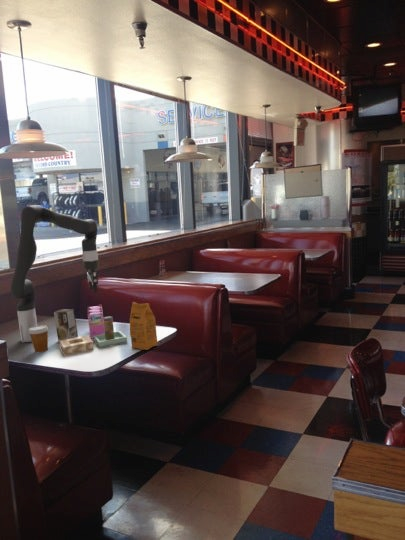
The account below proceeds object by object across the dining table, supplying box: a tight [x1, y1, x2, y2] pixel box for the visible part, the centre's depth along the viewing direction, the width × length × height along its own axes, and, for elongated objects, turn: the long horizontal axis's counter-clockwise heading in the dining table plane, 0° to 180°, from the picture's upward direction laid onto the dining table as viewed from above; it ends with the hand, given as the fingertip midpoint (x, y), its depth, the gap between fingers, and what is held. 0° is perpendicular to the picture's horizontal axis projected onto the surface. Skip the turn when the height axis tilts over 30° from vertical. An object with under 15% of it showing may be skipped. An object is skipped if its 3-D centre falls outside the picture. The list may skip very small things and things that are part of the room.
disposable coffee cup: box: [29, 324, 49, 353], centre depth 250 cm, size 10×10×12 cm
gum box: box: [87, 304, 105, 340], centre depth 274 cm, size 24×8×14 cm, turn 12°
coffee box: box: [53, 308, 79, 342], centre depth 265 cm, size 9×6×16 cm
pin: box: [103, 316, 115, 341], centre depth 254 cm, size 5×5×12 cm
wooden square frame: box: [59, 335, 95, 356], centre depth 248 cm, size 14×14×4 cm
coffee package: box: [129, 301, 159, 351], centre depth 239 cm, size 10×12×22 cm
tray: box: [93, 330, 128, 349], centre depth 254 cm, size 14×14×3 cm
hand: (93, 290), depth 253 cm, fingers open, 8 cm apart
